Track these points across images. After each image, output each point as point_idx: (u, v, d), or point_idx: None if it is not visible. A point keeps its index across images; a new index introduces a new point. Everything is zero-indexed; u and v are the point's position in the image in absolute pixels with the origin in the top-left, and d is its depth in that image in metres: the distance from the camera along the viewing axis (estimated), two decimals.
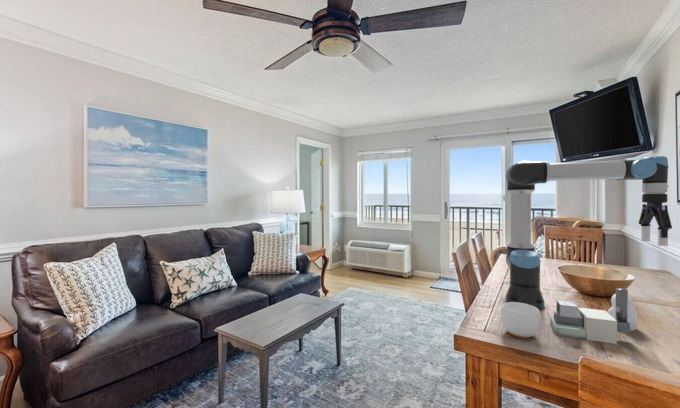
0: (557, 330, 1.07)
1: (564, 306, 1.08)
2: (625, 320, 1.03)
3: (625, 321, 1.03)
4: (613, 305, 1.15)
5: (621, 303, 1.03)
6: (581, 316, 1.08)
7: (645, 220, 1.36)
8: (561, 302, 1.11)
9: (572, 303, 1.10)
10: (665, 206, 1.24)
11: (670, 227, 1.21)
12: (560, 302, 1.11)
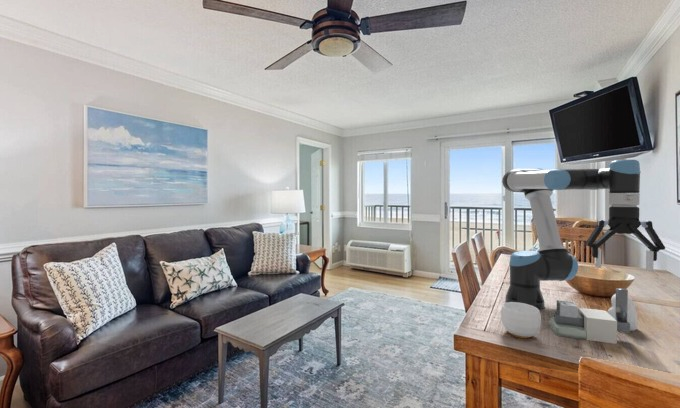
0: (557, 330, 1.07)
1: (564, 306, 1.08)
2: (625, 320, 1.03)
3: (625, 321, 1.03)
4: (613, 305, 1.15)
5: (621, 303, 1.03)
6: (581, 316, 1.08)
7: (642, 241, 1.03)
8: (561, 302, 1.11)
9: (572, 303, 1.10)
10: (599, 221, 1.06)
11: (587, 244, 1.07)
12: (560, 302, 1.11)
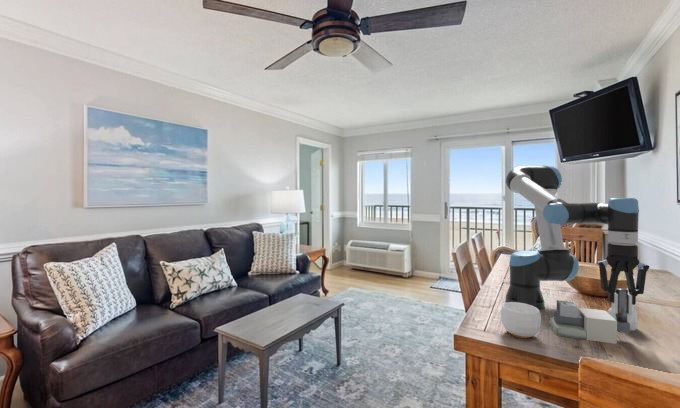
0: (557, 330, 1.07)
1: (564, 306, 1.08)
2: (625, 320, 1.03)
3: (625, 321, 1.03)
4: None
5: (621, 303, 1.03)
6: (581, 316, 1.08)
7: (627, 282, 1.04)
8: (561, 302, 1.11)
9: (572, 303, 1.10)
10: (598, 264, 1.06)
11: (604, 289, 1.05)
12: (560, 302, 1.11)
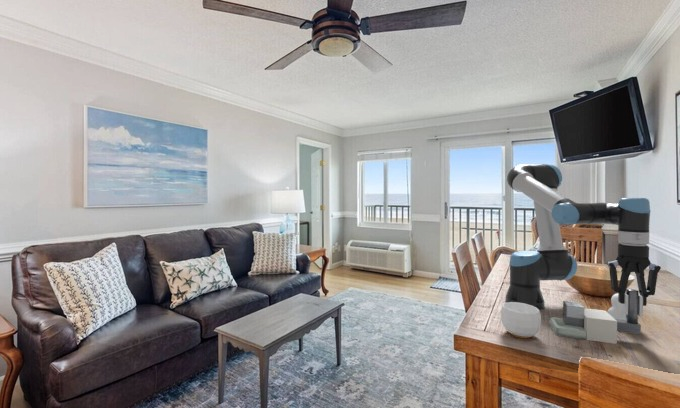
0: (557, 330, 1.07)
1: (571, 307, 1.08)
2: (636, 321, 1.02)
3: (636, 322, 1.02)
4: (613, 305, 1.15)
5: (632, 304, 1.02)
6: None
7: (638, 283, 1.03)
8: (568, 303, 1.10)
9: (579, 304, 1.09)
10: (609, 264, 1.05)
11: (614, 290, 1.04)
12: (567, 303, 1.10)
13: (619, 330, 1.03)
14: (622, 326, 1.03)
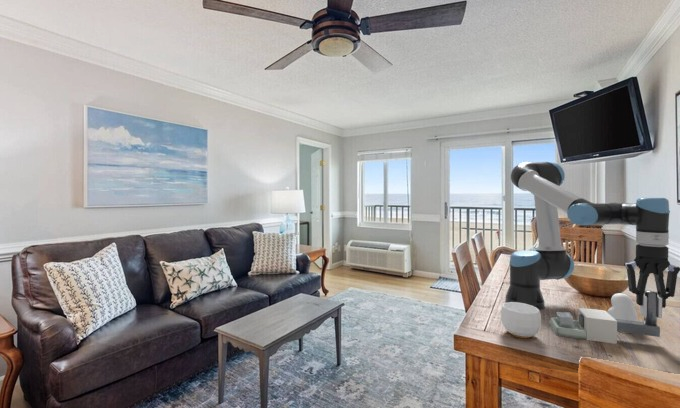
0: (557, 330, 1.07)
1: None
2: (655, 324, 1.00)
3: (655, 325, 1.00)
4: (613, 305, 1.15)
5: (651, 306, 1.00)
6: None
7: (656, 284, 1.01)
8: (558, 325, 1.12)
9: (557, 315, 1.12)
10: (626, 265, 1.03)
11: None
12: (559, 326, 1.11)
13: (637, 332, 1.01)
14: (640, 329, 1.01)
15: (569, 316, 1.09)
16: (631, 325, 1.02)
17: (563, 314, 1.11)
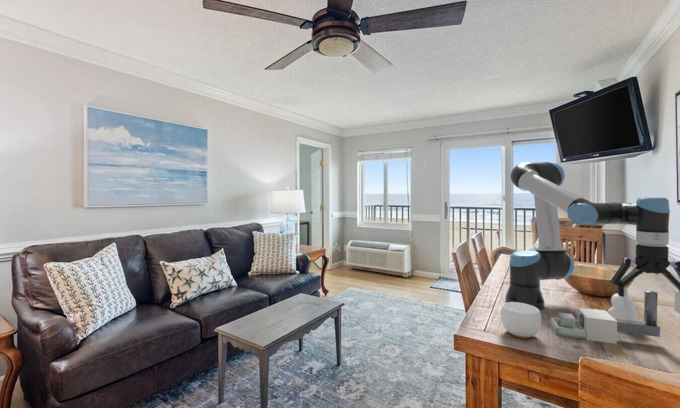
0: (557, 330, 1.07)
1: None
2: (655, 324, 1.00)
3: (655, 325, 1.00)
4: (613, 305, 1.15)
5: (651, 306, 1.00)
6: None
7: (670, 281, 0.99)
8: (559, 325, 1.12)
9: (559, 315, 1.12)
10: (625, 259, 1.03)
11: (613, 283, 1.04)
12: (559, 326, 1.11)
13: (637, 332, 1.01)
14: (640, 329, 1.01)
15: (571, 317, 1.08)
16: (631, 325, 1.02)
17: (565, 315, 1.10)
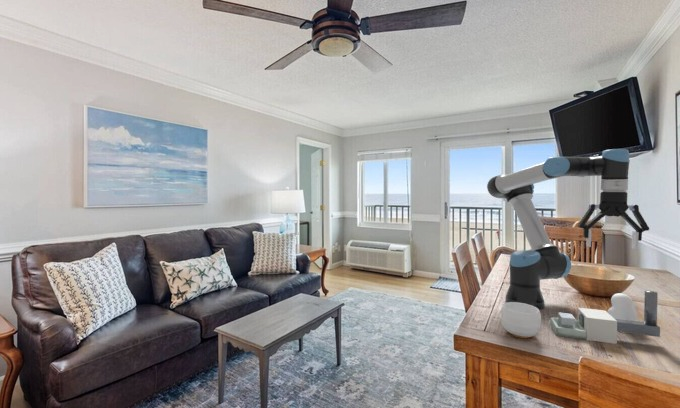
0: (557, 330, 1.07)
1: None
2: (655, 324, 1.00)
3: (655, 325, 1.00)
4: (613, 305, 1.15)
5: (651, 306, 1.00)
6: None
7: (629, 223, 1.13)
8: (559, 325, 1.12)
9: (559, 315, 1.12)
10: (591, 205, 1.17)
11: (579, 226, 1.18)
12: (559, 326, 1.11)
13: (637, 332, 1.01)
14: (640, 329, 1.01)
15: (571, 317, 1.08)
16: (631, 325, 1.02)
17: (565, 315, 1.10)
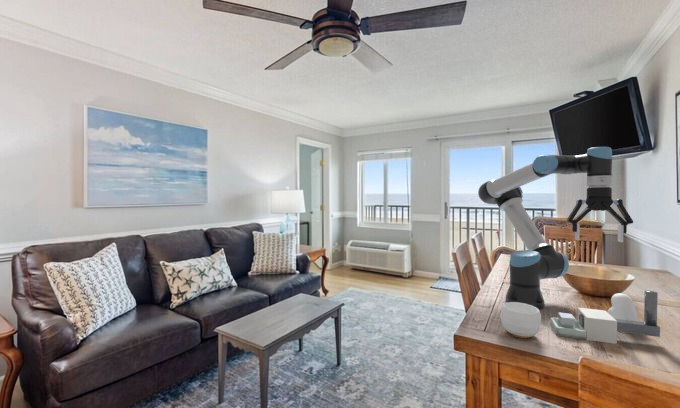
0: (557, 330, 1.07)
1: None
2: (655, 324, 1.00)
3: (655, 325, 1.00)
4: (613, 305, 1.15)
5: (651, 306, 1.00)
6: None
7: (614, 217, 1.20)
8: (559, 325, 1.12)
9: (559, 315, 1.12)
10: (578, 200, 1.23)
11: (568, 220, 1.24)
12: (559, 326, 1.11)
13: (637, 332, 1.01)
14: (640, 329, 1.01)
15: (571, 317, 1.08)
16: (631, 325, 1.02)
17: (565, 315, 1.10)
